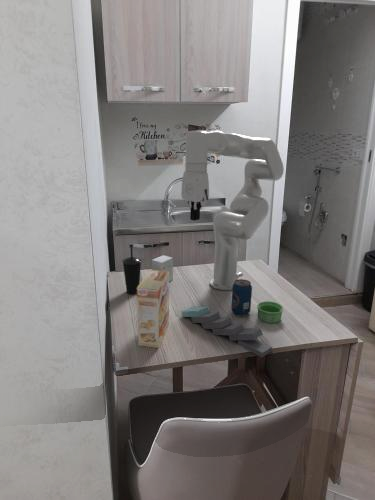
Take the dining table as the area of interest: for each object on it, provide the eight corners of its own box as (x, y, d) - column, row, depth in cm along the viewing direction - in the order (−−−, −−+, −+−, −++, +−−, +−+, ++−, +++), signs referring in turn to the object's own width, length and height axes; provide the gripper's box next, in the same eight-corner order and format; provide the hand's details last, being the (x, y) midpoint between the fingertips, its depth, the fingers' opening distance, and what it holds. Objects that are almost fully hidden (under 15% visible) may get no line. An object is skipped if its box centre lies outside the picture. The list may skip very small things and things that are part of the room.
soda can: (227, 310, 137) (229, 280, 133) (244, 307, 139) (246, 277, 136) (236, 318, 131) (238, 287, 127) (253, 315, 133) (256, 284, 129)
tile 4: (221, 323, 124) (242, 323, 117) (223, 329, 124) (244, 329, 117) (211, 328, 121) (232, 329, 114) (213, 334, 121) (234, 335, 114)
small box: (163, 276, 166) (163, 254, 163) (173, 279, 163) (173, 257, 160) (151, 282, 160) (151, 259, 157) (161, 285, 157) (161, 262, 153)
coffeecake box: (159, 348, 113) (159, 289, 106) (137, 346, 114) (135, 287, 107) (170, 324, 127) (170, 270, 120) (149, 322, 128) (148, 269, 122)
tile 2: (201, 312, 131) (218, 311, 124) (202, 318, 131) (220, 317, 124) (190, 317, 127) (208, 316, 121) (192, 323, 128) (210, 322, 121)
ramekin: (268, 326, 126) (269, 315, 125) (251, 315, 133) (252, 304, 132) (287, 320, 131) (288, 308, 129) (269, 309, 138) (270, 299, 136)
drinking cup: (137, 297, 146) (135, 249, 140) (120, 294, 148) (117, 246, 142) (145, 289, 153) (144, 243, 147) (128, 286, 155) (127, 241, 149)
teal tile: (191, 307, 135) (208, 306, 128) (192, 312, 135) (209, 312, 128) (181, 311, 131) (197, 311, 125) (182, 316, 131) (199, 316, 125)
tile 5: (237, 328, 121) (260, 328, 115) (238, 334, 121) (262, 334, 115) (228, 334, 117) (252, 333, 111) (230, 340, 117) (254, 340, 111)
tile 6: (248, 334, 118) (272, 346, 112) (247, 340, 119) (271, 352, 112) (238, 340, 115) (262, 352, 109) (237, 346, 115) (261, 358, 109)
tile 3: (211, 318, 127) (230, 316, 120) (213, 323, 127) (232, 322, 120) (201, 323, 124) (220, 322, 117) (203, 328, 124) (222, 328, 117)
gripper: (174, 166, 132) (173, 217, 137) (203, 170, 121) (201, 225, 127) (189, 165, 136) (188, 214, 142) (219, 169, 126) (217, 222, 132)
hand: (195, 219), depth 135 cm, fingers closed
